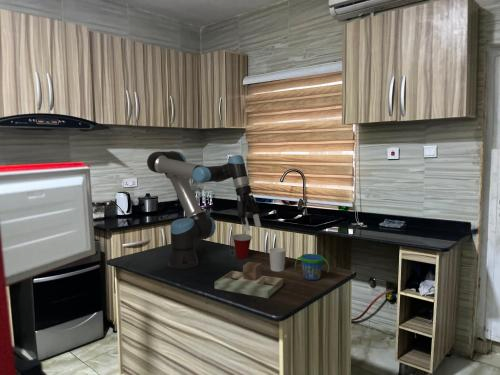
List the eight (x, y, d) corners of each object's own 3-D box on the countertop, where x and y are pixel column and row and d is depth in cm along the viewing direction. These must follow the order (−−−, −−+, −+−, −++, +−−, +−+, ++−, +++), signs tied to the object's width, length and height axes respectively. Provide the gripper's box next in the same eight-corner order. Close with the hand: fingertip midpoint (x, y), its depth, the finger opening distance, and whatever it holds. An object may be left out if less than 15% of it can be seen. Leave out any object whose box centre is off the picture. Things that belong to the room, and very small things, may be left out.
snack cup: (330, 276, 177) (331, 255, 176) (326, 284, 167) (327, 261, 166) (298, 272, 183) (298, 252, 181) (292, 279, 173) (292, 258, 172)
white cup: (284, 272, 183) (284, 252, 182) (268, 271, 184) (268, 251, 183) (286, 267, 191) (286, 248, 190) (270, 266, 192) (270, 247, 191)
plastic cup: (237, 261, 201) (237, 239, 200) (229, 256, 211) (229, 235, 209) (255, 258, 206) (255, 237, 205) (246, 253, 216) (246, 233, 214)
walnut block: (243, 278, 166) (243, 265, 165) (249, 274, 171) (249, 261, 171) (255, 280, 163) (255, 267, 163) (261, 276, 169) (261, 263, 168)
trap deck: (214, 288, 163) (214, 281, 162) (232, 277, 177) (232, 270, 177) (268, 298, 152) (268, 291, 152) (282, 285, 166) (282, 278, 166)
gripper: (237, 185, 173) (249, 230, 172) (259, 183, 196) (269, 223, 194) (223, 189, 176) (234, 234, 175) (246, 187, 199) (256, 227, 197)
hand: (253, 228), depth 185 cm, fingers open, 13 cm apart
